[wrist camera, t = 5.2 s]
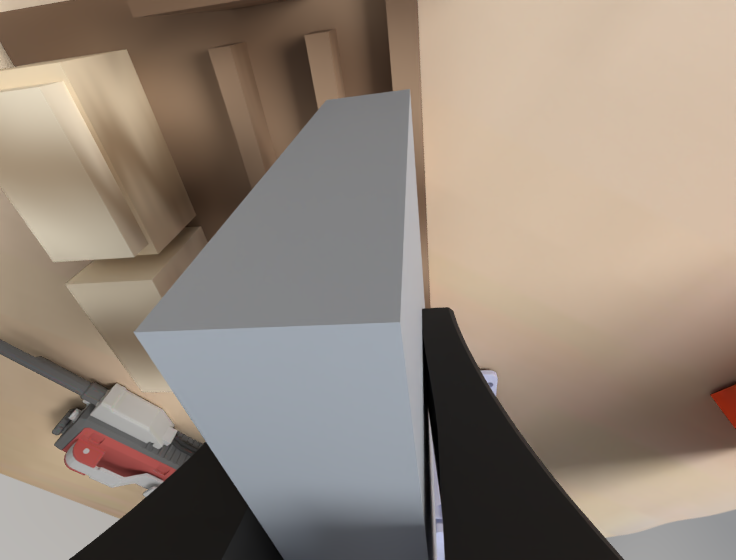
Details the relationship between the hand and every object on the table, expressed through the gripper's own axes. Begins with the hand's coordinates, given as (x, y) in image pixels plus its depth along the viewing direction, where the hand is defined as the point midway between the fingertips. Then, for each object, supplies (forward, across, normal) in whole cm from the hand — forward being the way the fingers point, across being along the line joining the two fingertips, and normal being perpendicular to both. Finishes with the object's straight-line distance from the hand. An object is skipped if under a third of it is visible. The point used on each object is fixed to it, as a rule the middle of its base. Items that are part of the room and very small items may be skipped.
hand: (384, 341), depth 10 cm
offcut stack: (+9, +12, +1) cm, 15 cm away
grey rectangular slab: (+3, 0, 0) cm, 3 cm away
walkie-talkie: (+11, +25, +18) cm, 32 cm away
